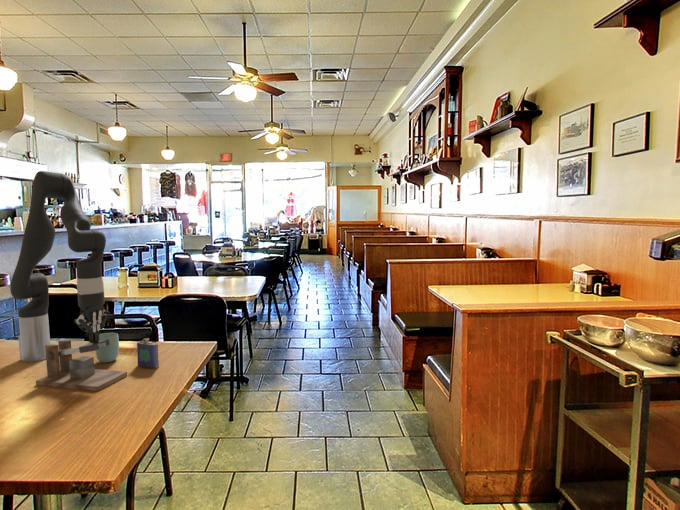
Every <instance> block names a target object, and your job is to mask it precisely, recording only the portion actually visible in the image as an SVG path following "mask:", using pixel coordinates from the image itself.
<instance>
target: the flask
mask: <svg viewBox="0 0 680 510" xmlns="http://www.w3.org/2000/svg"><path fill="white" fill-rule="evenodd" d="M136 348H137V349H136V350H137V351H136V352H137V367H139V368H144V369H145V368H146V369H151V368H153V369H154V368H156V369H158V368H159V367H160V361H159V344H158V343H157V342H150V338H149V337H147V338H143V339H142V340H139V341H137V342H136Z"/></svg>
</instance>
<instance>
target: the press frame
mask: <svg viewBox="0 0 680 510" xmlns="http://www.w3.org/2000/svg"><path fill="white" fill-rule="evenodd" d="M57 343H58V344H53V343H52V344H51V343H50V344H47V345H45V350H46V359H45V360H46V362H45V363H46V372H47V375H46V376H43V377H41V378H39V379H37V380H35V384H36V386H41V385H42V387H50V386H52V387H53V388H62V389H70V390H72V389H73V390H79V391H89V390H91V392H100V391H101V389H102V390H103V389H106V388H107V387H109V386H111V385H113V384H114V383H116V382H119V381H120V380H122V379H124V378H125V377H127V376H128V371H123V370H111V369H110V370H109V369H99V368H95V359H94V356H86V355H85V356H84V355H81V356H77V357H75V358H73V354H67V355H61V356H59V350H60V349H66V348H71V347H72V341H71V340H70V339H69V340H68V339H67V340H66V339H59V340H58V341H57ZM52 387H51V388H52ZM99 390H100V391H99Z"/></svg>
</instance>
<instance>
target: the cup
mask: <svg viewBox="0 0 680 510" xmlns="http://www.w3.org/2000/svg"><path fill="white" fill-rule="evenodd" d="M105 339H109V343H110V345H108V346H105V347H103V348H100V349H98V350H95V356H96V360H97V361H98V362H100V363H105V364H106V363H112V362H114V361H115V360H117V359H118V357H119V352H120V341H119V339H120V338H119V334H118V332H117V333H116V332H106V333H105V332H104V333H99V341H100V340H105Z"/></svg>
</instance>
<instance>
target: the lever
mask: <svg viewBox="0 0 680 510" xmlns="http://www.w3.org/2000/svg"><path fill="white" fill-rule="evenodd" d="M108 345H110V343H109V339H105V340H100V341H99V342H97V343H90V342H89V343H86V344H83V345H77V346H71V348H66V349H60V350H59V356H61V355H67V354H72V355H73V354H78V353H80V354H84V353H90V352H94V351H95V350H98V349H100V348H103V347H105V346H108ZM95 352H96V351H95Z"/></svg>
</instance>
